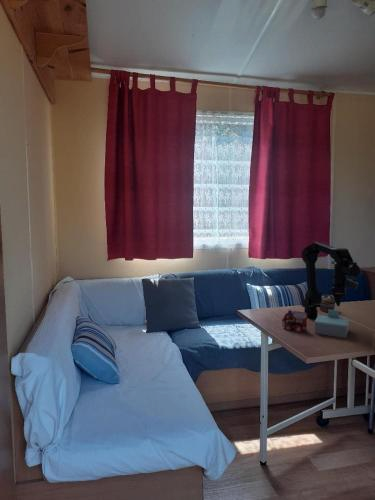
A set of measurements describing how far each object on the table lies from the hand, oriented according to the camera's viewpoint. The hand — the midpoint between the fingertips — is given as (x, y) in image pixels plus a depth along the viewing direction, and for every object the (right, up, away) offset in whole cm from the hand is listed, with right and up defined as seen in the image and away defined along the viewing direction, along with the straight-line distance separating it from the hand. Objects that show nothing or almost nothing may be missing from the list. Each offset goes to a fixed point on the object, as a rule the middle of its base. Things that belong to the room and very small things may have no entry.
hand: (338, 304), depth 179 cm
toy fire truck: (-23, -14, 0) cm, 26 cm away
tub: (-6, -14, -5) cm, 16 cm away
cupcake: (+9, -10, +38) cm, 41 cm away
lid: (-6, -8, -5) cm, 11 cm away
